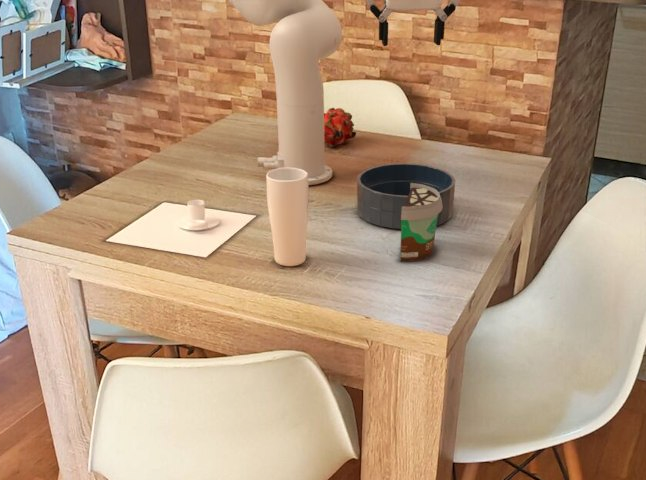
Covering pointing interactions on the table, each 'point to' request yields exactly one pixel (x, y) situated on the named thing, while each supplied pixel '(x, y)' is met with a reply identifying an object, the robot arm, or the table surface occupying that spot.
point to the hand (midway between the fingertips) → (410, 44)
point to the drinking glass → (288, 213)
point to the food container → (419, 222)
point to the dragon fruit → (337, 127)
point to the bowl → (399, 191)
